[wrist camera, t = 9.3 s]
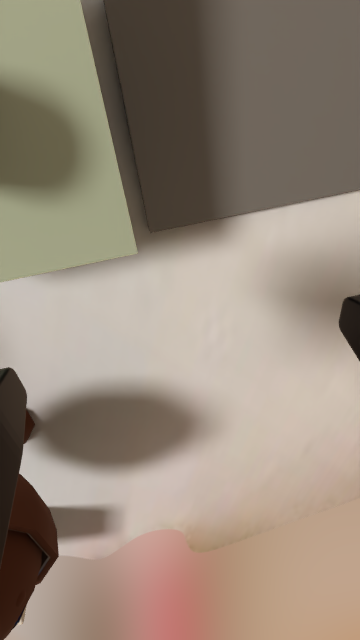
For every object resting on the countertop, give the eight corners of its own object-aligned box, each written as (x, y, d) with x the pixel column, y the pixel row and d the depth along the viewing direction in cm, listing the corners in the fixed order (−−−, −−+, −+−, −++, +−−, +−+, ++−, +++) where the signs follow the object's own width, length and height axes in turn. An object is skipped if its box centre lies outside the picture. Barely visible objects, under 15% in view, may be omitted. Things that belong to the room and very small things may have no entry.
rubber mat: (417, -171, 12) (430, -183, 12) (355, 187, 19) (361, 189, 19) (76, -136, 11) (74, -148, 10) (149, 229, 18) (150, 232, 18)
